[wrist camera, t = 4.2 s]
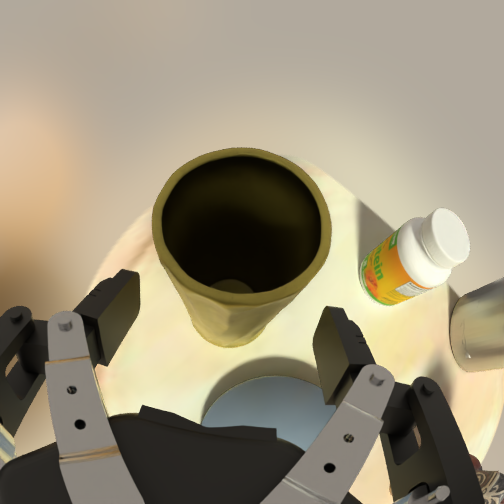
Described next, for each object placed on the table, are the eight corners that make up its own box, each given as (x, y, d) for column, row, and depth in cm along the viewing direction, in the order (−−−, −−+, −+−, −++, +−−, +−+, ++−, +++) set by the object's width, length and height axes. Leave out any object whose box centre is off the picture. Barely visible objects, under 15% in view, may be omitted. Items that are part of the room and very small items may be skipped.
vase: (174, 299, 20) (104, 196, 7) (236, 256, 22) (259, 115, 9) (222, 363, 19) (222, 375, 6) (284, 315, 21) (383, 236, 8)
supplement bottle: (360, 245, 24) (419, 186, 15) (405, 259, 24) (470, 212, 15) (354, 300, 22) (426, 260, 13) (403, 312, 22) (479, 280, 13)
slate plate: (331, 364, 20) (339, 364, 18) (342, 478, 16) (349, 484, 14) (190, 382, 18) (187, 384, 17) (210, 502, 14) (209, 510, 13)
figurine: (423, 430, 18) (520, 442, 7) (450, 455, 16) (532, 467, 5) (376, 489, 15) (461, 533, 4) (410, 507, 14) (485, 540, 3)
